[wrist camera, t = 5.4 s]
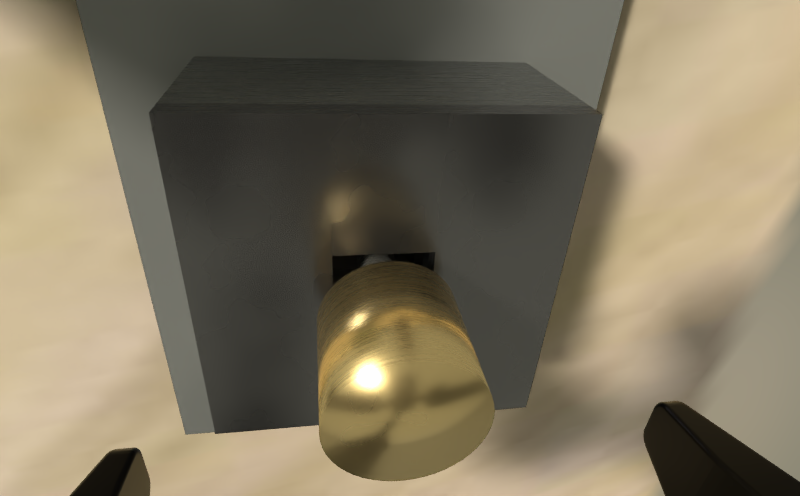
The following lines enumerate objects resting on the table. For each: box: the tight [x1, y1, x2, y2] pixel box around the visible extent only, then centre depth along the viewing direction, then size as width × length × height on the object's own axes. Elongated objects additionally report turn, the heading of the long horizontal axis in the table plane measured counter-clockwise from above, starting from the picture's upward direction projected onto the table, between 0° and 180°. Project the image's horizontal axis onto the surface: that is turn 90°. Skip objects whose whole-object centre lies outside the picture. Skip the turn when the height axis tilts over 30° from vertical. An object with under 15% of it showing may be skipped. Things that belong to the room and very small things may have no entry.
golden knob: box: [317, 253, 495, 481], centre depth 13 cm, size 4×4×8 cm
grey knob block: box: [149, 56, 602, 434], centre depth 15 cm, size 9×9×5 cm
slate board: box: [76, 0, 624, 434], centre depth 17 cm, size 20×14×1 cm
